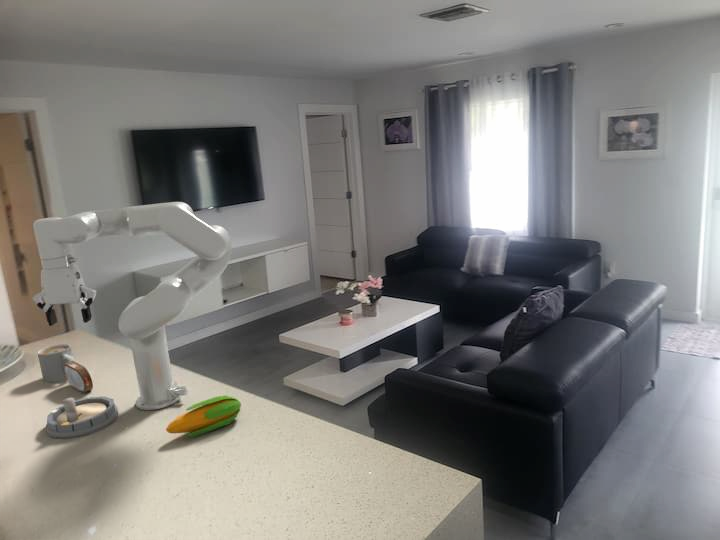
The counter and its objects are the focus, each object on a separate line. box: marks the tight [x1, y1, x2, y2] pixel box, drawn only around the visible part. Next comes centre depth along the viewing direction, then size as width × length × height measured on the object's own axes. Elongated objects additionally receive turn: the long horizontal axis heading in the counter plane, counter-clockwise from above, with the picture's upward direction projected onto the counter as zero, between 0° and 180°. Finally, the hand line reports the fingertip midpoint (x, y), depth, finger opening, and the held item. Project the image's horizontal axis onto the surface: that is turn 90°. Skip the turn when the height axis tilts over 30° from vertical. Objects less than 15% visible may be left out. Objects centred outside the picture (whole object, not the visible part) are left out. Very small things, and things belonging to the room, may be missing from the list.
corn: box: [165, 395, 242, 439], centre depth 143 cm, size 7×8×20 cm
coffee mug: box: [37, 343, 76, 384], centre depth 186 cm, size 13×10×10 cm
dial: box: [57, 397, 106, 423], centre depth 152 cm, size 12×12×7 cm
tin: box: [64, 360, 94, 393], centre depth 176 cm, size 15×3×8 cm, turn 49°
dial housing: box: [45, 396, 119, 440], centre depth 153 cm, size 18×18×4 cm
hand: (70, 322), depth 154 cm, fingers open, 9 cm apart
